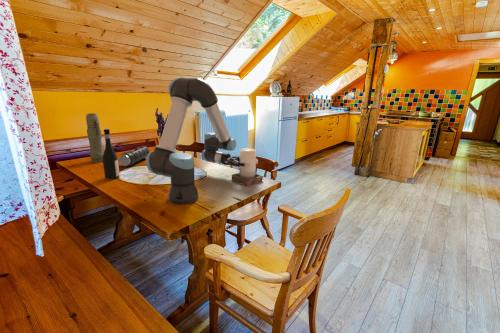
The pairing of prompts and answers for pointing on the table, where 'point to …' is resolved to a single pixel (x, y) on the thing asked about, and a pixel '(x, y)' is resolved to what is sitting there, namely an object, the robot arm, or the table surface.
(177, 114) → the robot arm
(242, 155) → the ceramic canister
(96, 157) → the grey stone pillar
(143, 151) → the muzzle brake
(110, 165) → the wine bottle
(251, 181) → the coaster tray
